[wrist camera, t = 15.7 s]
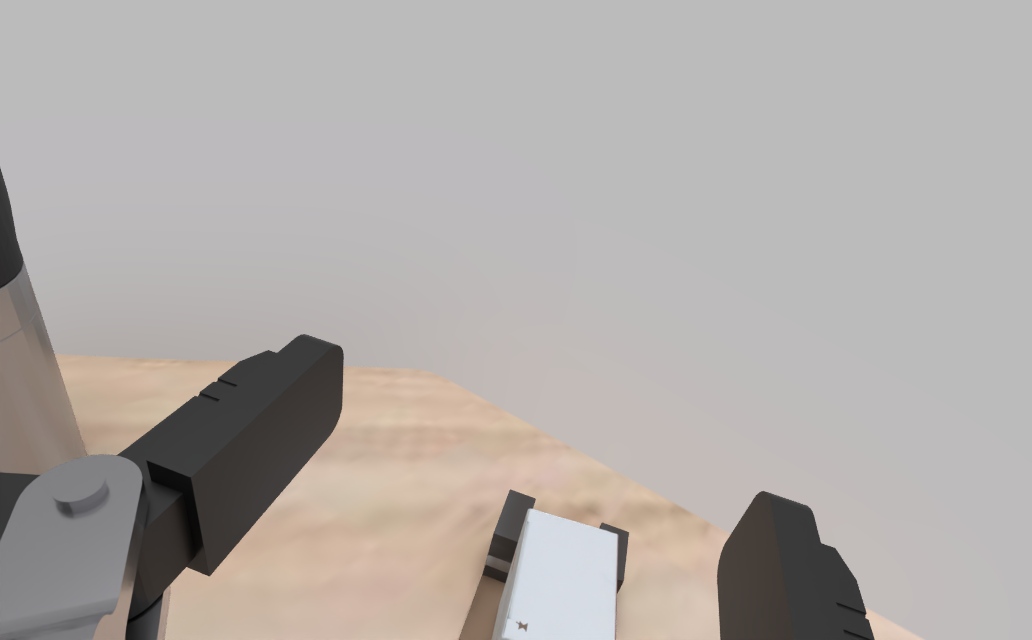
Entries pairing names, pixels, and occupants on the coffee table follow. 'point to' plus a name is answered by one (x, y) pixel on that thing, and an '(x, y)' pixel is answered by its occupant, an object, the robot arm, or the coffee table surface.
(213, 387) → the robot arm
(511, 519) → the stand
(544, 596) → the small box
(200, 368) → the coffee table surface
